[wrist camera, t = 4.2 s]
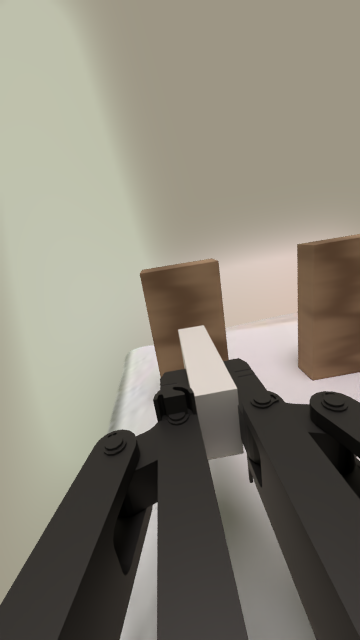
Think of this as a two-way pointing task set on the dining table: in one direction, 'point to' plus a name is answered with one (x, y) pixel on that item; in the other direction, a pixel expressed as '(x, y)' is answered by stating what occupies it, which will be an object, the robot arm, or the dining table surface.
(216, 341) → the tile
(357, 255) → the tile
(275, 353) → the dining table surface
